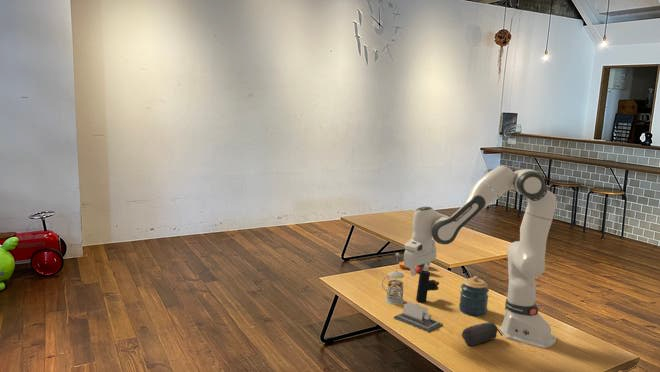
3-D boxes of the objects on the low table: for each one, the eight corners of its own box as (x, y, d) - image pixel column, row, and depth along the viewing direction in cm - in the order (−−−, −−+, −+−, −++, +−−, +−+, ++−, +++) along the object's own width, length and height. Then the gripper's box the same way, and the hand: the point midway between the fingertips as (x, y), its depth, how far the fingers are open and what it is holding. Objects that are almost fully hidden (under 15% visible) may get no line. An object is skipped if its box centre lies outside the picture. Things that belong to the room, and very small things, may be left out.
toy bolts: (396, 264, 302) (397, 244, 300) (422, 263, 305) (423, 244, 303) (406, 274, 285) (407, 253, 283) (434, 273, 288) (435, 252, 286)
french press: (404, 305, 239) (407, 256, 235) (380, 303, 241) (383, 254, 237) (405, 298, 248) (408, 251, 244) (382, 295, 250) (384, 248, 246)
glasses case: (485, 333, 212) (486, 316, 211) (504, 344, 203) (506, 326, 202) (455, 342, 203) (456, 325, 202) (474, 353, 194) (476, 335, 193)
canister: (456, 312, 233) (458, 277, 230) (462, 303, 244) (465, 269, 241) (484, 319, 227) (487, 283, 224) (489, 309, 238) (492, 274, 235)
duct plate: (442, 326, 218) (442, 322, 218) (428, 333, 210) (428, 329, 210) (408, 312, 231) (408, 308, 231) (393, 318, 224) (393, 315, 223)
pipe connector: (430, 297, 253) (434, 269, 251) (437, 300, 248) (441, 272, 246) (413, 299, 246) (417, 270, 245) (420, 302, 242) (425, 273, 240)
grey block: (408, 314, 227) (409, 301, 226) (431, 322, 218) (432, 310, 217) (403, 316, 224) (403, 304, 223) (426, 325, 215) (427, 313, 214)
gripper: (429, 237, 225) (427, 266, 227) (401, 245, 211) (400, 276, 213) (440, 240, 221) (438, 269, 223) (413, 248, 206) (412, 280, 209)
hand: (419, 273), depth 218 cm, fingers open, 8 cm apart
